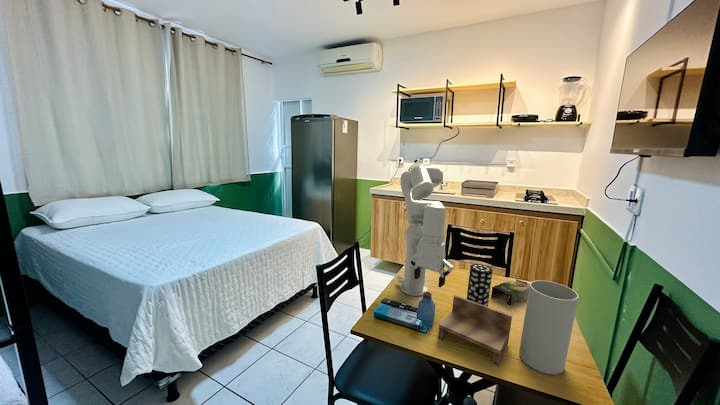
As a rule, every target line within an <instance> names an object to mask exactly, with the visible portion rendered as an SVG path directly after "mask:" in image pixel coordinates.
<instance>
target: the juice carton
mask: <svg viewBox="0 0 720 405" xmlns="http://www.w3.org/2000/svg"><path fill="white" fill-rule="evenodd" d="M529 287H530V283H528V282H527V281H524V280H520V279H517V278H513V279H510V280H507V281H504V282H502V283H499V284H497V285H493V286H492V287H491V294H490V298H491V299H493V297H495V296H498V295H500V294H506V295H508V300H507V301H505V303H506V304H507V305H509V306H513V305H516V304H519V303H521V302H523V301H524V300H527V299H528V293H529Z"/></svg>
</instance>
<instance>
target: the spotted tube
mask: <svg viewBox="0 0 720 405" xmlns="http://www.w3.org/2000/svg"><path fill="white" fill-rule="evenodd" d="M468 276H469V277H468V283H467V291H466V299H468V300H471V301H473V302H476V303H479V304H482V305H485V306H488V307H489V303H490V302H489V301H490V296H491V294H490V293H491V288H492V287H491V284H492V278H493V268H492V267H491V266H489V265H486V264H483V263H472V264H470V265H469V274H468Z"/></svg>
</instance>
